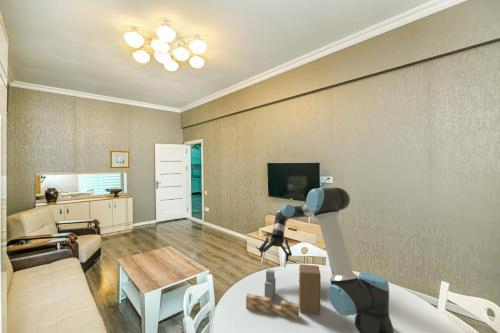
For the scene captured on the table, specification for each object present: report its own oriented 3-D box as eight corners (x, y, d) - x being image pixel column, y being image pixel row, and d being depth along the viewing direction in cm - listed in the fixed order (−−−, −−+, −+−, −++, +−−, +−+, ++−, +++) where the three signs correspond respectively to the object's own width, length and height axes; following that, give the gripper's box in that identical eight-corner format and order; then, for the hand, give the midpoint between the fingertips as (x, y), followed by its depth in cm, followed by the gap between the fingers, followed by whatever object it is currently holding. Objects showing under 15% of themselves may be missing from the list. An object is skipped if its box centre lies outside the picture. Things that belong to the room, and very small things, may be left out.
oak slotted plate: (298, 316, 109) (298, 303, 109) (298, 319, 106) (298, 306, 106) (247, 305, 117) (247, 293, 117) (246, 308, 115) (246, 296, 115)
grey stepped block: (268, 291, 130) (268, 267, 130) (275, 292, 129) (275, 268, 129) (264, 299, 122) (264, 273, 122) (271, 301, 121) (271, 274, 121)
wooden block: (320, 315, 109) (320, 273, 109) (299, 312, 111) (299, 271, 111) (318, 303, 119) (318, 265, 119) (299, 300, 121) (299, 263, 121)
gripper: (298, 237, 146) (294, 270, 132) (261, 233, 154) (254, 264, 140) (297, 231, 141) (293, 265, 127) (258, 227, 149) (251, 259, 135)
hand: (272, 264), depth 134 cm, fingers open, 13 cm apart
